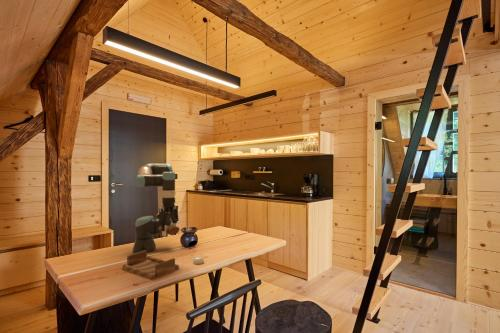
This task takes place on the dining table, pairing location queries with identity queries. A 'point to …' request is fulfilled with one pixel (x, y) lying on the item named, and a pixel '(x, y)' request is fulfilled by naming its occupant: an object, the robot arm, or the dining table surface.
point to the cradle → (149, 265)
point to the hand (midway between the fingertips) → (168, 234)
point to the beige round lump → (198, 260)
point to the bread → (170, 230)
